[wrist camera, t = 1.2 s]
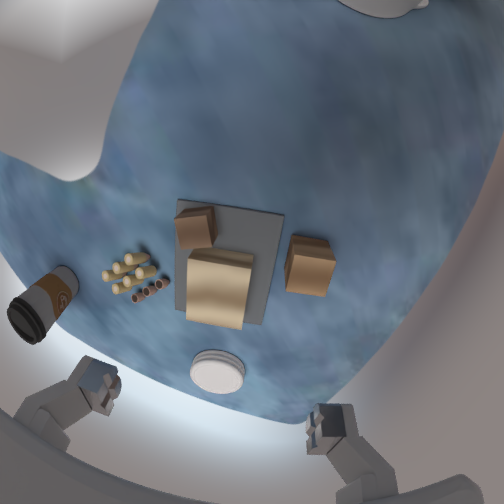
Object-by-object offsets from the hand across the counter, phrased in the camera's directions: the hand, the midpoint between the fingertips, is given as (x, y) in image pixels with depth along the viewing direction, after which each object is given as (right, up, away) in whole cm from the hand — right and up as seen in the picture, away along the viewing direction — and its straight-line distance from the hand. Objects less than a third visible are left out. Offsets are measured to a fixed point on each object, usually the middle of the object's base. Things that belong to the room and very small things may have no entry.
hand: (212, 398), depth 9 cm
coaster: (-5, -16, +39) cm, 43 cm away
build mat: (-3, +4, +29) cm, 30 cm away
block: (-5, +10, +26) cm, 28 cm away
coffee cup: (-33, +1, +33) cm, 47 cm away
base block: (-3, +2, +30) cm, 30 cm away
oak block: (+9, +5, +28) cm, 30 cm away
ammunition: (-16, +3, +31) cm, 35 cm away
